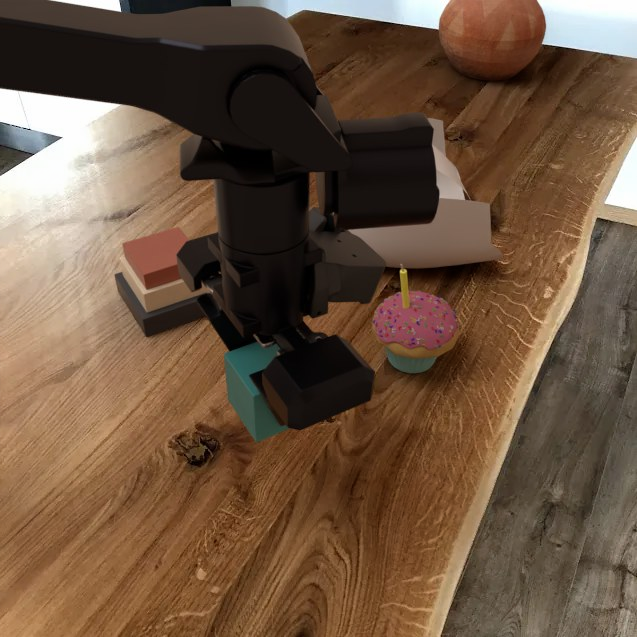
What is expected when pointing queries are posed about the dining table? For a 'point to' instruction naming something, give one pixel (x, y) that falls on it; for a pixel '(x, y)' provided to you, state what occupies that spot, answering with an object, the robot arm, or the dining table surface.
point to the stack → (157, 283)
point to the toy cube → (250, 389)
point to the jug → (491, 36)
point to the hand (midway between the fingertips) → (270, 400)
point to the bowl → (439, 225)
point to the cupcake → (414, 328)
